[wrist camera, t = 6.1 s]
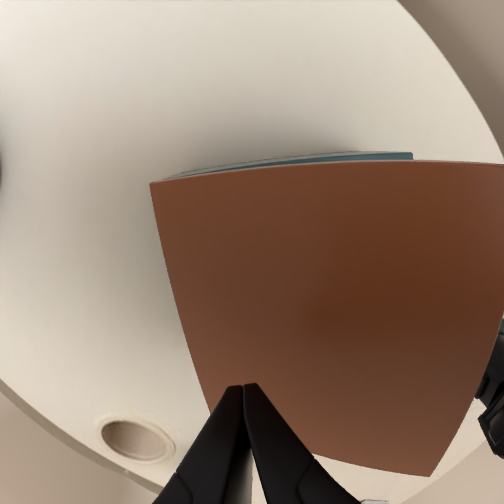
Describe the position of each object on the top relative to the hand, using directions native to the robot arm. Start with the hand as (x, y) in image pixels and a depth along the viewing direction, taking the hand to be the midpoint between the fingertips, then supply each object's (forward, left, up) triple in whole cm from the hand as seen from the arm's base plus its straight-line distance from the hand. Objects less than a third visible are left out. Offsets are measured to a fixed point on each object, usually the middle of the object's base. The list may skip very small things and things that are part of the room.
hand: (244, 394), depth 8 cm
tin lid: (-2, 0, -2) cm, 3 cm away
